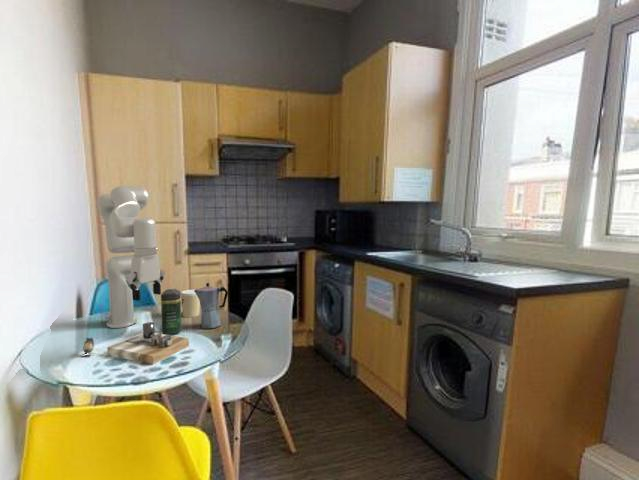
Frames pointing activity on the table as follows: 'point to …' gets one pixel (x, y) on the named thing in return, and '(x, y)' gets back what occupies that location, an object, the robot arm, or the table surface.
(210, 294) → the moka pot
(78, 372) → the table surface
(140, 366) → the table surface
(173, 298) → the coffee jar
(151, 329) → the dark metal knob
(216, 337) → the table surface
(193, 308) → the coffee cup
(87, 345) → the vase
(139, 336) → the lock board
